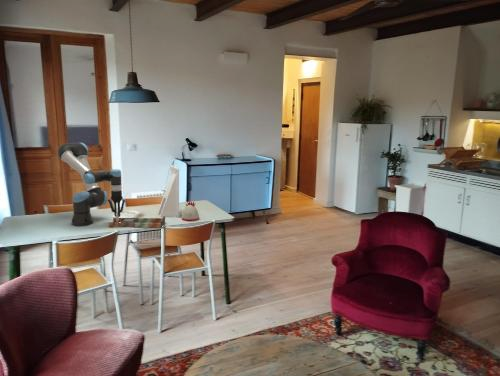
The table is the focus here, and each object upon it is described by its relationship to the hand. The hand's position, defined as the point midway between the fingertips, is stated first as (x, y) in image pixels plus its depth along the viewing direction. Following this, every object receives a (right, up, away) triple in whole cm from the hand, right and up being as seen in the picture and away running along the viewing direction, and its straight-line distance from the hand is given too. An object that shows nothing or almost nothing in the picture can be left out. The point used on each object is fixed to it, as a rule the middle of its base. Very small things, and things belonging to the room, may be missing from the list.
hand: (117, 220), depth 306 cm
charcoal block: (+8, -3, +1) cm, 9 cm away
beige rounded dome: (+51, -1, +22) cm, 56 cm away
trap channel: (+14, -3, +2) cm, 14 cm away
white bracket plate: (+31, +2, +32) cm, 44 cm away
